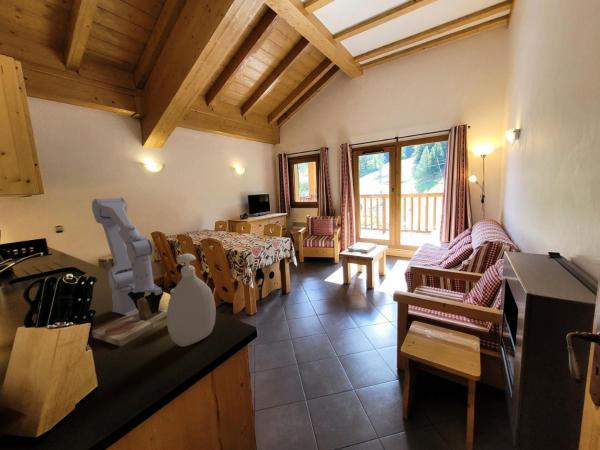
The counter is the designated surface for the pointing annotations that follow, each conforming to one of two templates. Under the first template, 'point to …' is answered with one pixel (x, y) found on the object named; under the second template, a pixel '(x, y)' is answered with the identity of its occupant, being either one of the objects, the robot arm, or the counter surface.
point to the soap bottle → (190, 307)
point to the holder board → (128, 327)
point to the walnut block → (144, 309)
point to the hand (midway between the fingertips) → (147, 311)
